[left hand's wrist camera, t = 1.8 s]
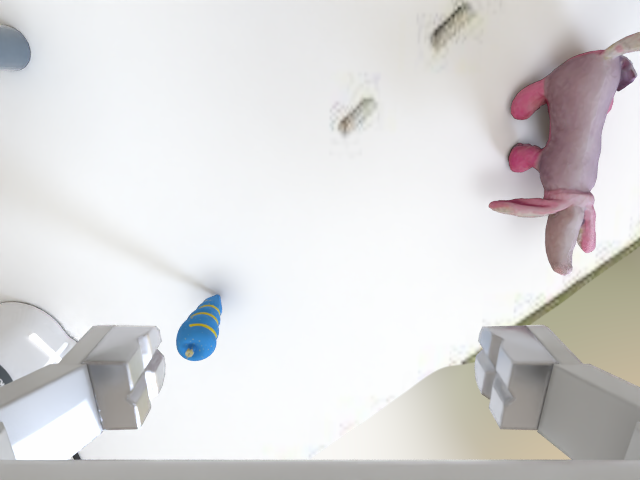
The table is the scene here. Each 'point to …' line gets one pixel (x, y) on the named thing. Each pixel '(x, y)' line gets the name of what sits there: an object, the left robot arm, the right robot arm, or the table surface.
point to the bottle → (13, 49)
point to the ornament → (200, 330)
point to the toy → (569, 146)
